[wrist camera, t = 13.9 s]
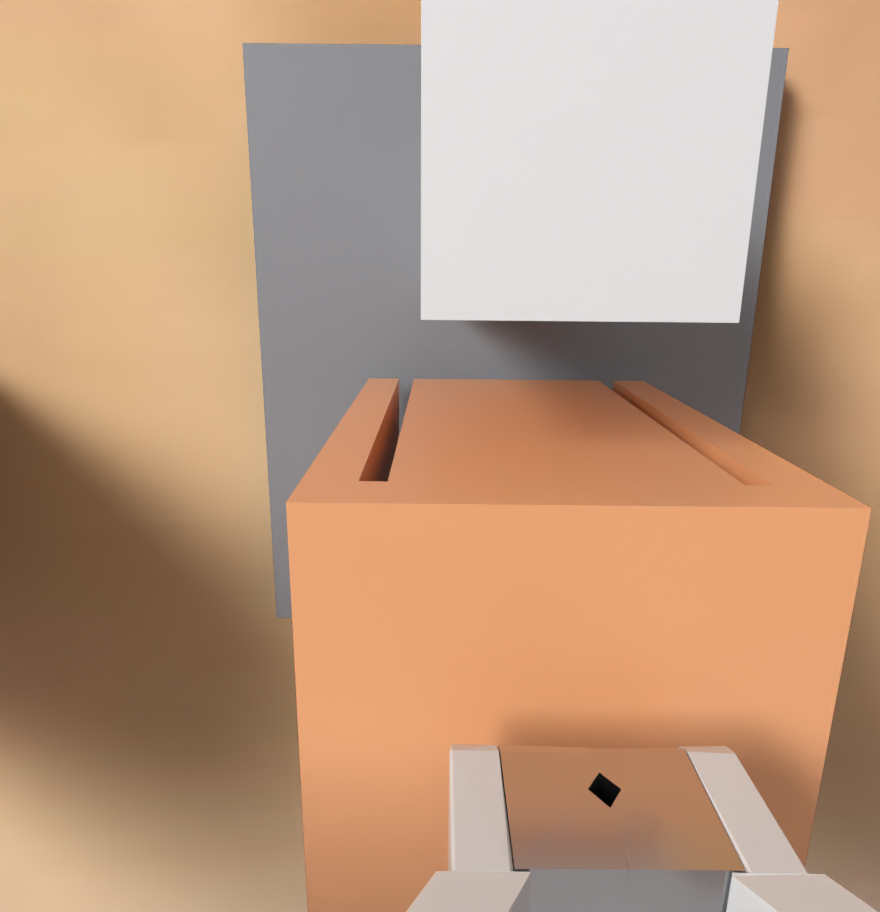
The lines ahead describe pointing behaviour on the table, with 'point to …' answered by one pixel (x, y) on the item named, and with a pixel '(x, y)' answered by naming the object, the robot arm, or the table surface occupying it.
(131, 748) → the table surface
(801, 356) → the table surface
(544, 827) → the robot arm
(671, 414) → the orange block
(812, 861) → the table surface
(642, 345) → the post base
